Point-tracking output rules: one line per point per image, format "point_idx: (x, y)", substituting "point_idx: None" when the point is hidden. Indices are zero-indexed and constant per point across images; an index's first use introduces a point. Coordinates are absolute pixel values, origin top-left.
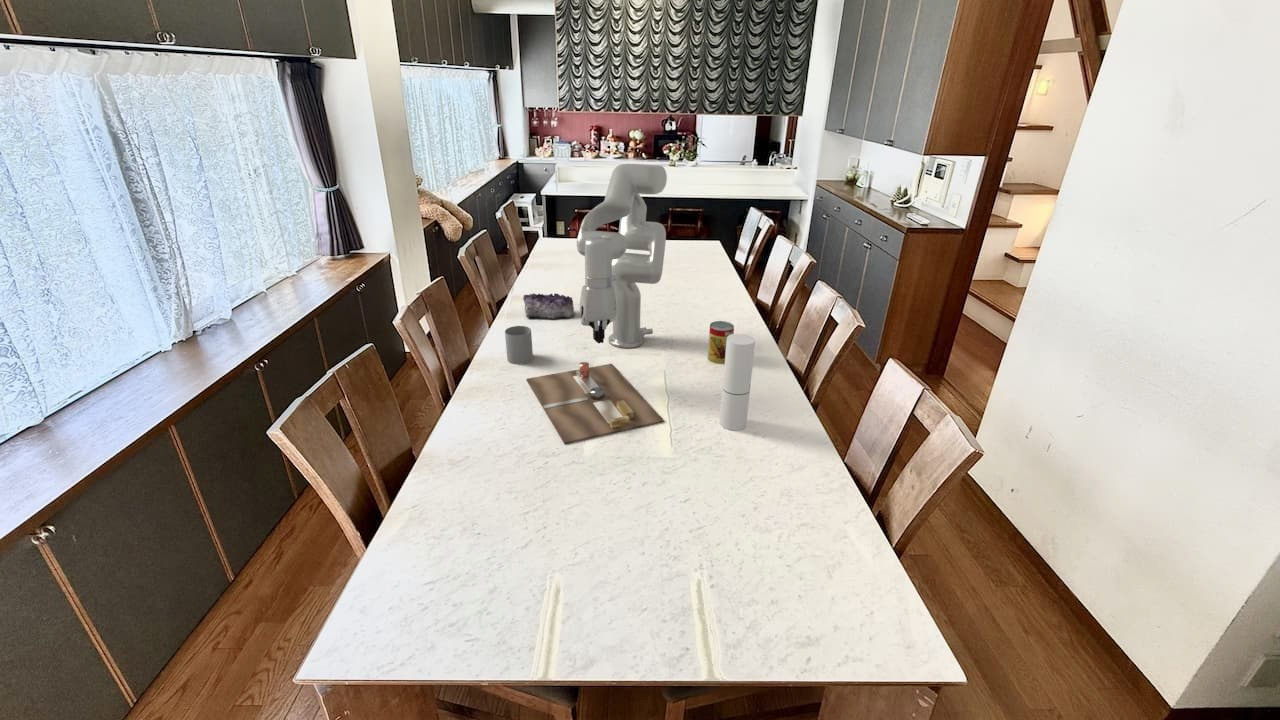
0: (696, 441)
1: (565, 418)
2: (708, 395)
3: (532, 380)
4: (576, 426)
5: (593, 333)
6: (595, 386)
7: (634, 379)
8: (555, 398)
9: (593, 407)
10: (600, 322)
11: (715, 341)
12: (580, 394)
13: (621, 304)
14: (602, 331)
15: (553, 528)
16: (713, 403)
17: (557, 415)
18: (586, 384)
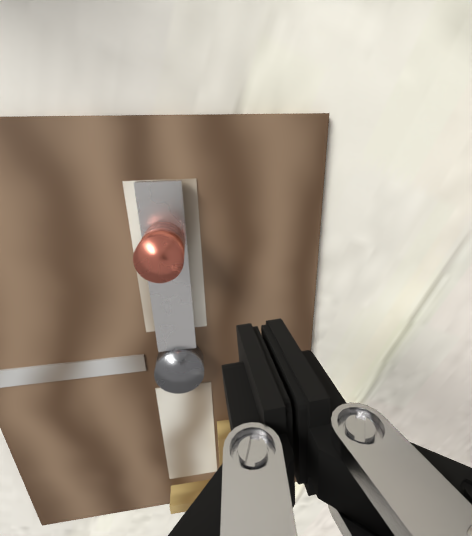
0: (320, 530)
1: (54, 444)
2: (459, 399)
3: None
4: (82, 478)
5: (228, 407)
6: (184, 334)
7: (344, 267)
8: (27, 335)
9: (151, 409)
10: (374, 491)
11: None
12: (126, 331)
13: None
14: (310, 483)
15: None
16: (441, 430)
17: (29, 427)
18: (154, 311)
